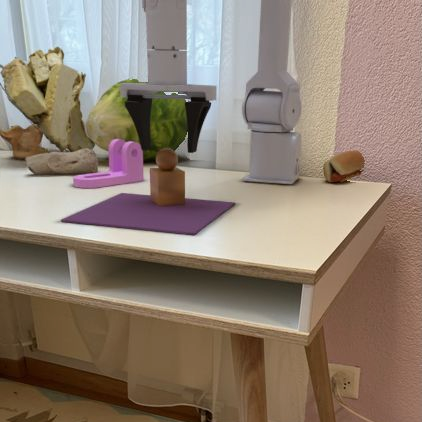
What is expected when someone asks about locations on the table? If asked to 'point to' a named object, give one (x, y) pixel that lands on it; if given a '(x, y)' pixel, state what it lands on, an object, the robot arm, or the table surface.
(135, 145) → the bracket
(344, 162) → the food
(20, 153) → the bone
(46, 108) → the debris
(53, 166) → the bone fragment
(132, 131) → the lettuce
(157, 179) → the wooden knob on block
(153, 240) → the table surface
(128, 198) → the felt cloth
